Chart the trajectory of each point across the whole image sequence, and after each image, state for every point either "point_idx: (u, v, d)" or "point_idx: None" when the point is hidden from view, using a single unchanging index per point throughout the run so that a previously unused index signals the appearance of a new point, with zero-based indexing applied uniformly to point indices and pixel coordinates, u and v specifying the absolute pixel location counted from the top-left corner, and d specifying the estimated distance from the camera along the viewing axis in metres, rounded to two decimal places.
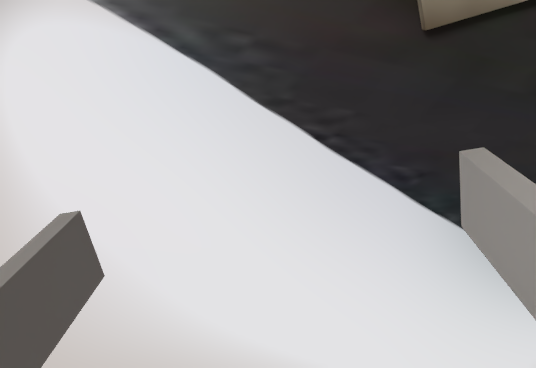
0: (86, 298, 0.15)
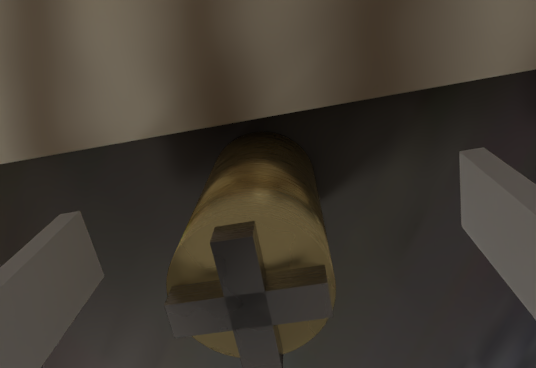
0: (86, 298, 0.15)
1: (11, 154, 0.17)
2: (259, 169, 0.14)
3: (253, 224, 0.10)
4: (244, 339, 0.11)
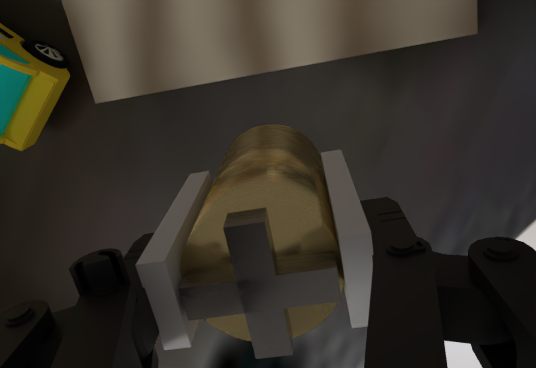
0: None
1: (130, 92, 0.28)
2: (269, 159, 0.14)
3: (264, 210, 0.11)
4: (255, 322, 0.11)
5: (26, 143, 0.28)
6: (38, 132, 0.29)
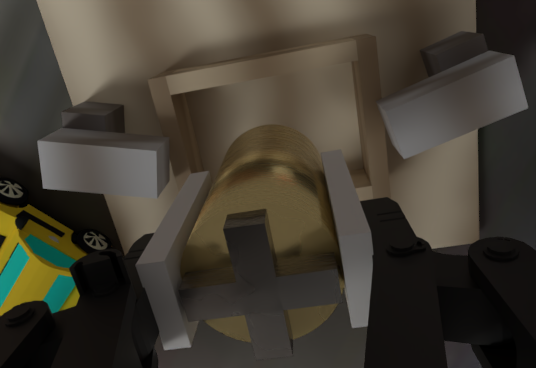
0: None
1: None
2: (270, 160, 0.14)
3: (264, 212, 0.11)
4: (255, 323, 0.11)
5: None
6: None
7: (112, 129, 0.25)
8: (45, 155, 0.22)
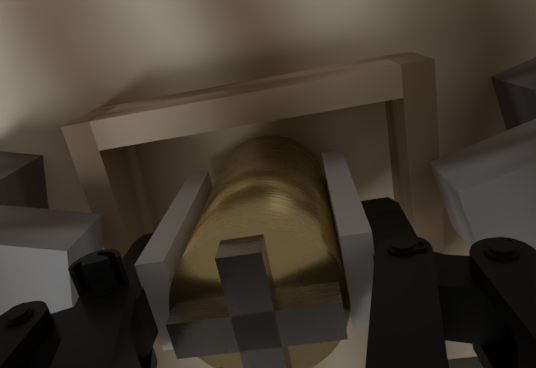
0: None
1: None
2: (268, 177, 0.13)
3: (262, 238, 0.10)
4: (251, 361, 0.10)
5: None
6: None
7: (17, 197, 0.16)
8: None
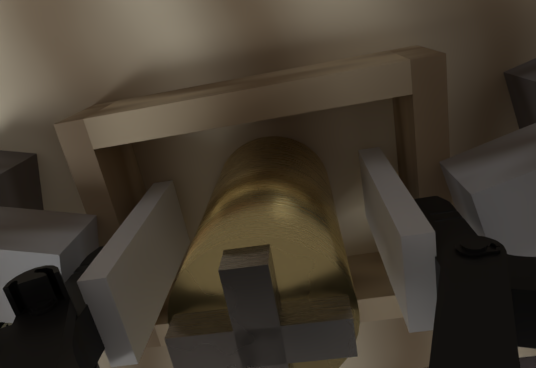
0: (181, 259, 0.16)
1: None
2: (272, 181, 0.12)
3: (268, 249, 0.09)
4: None
5: None
6: None
7: (10, 197, 0.16)
8: None
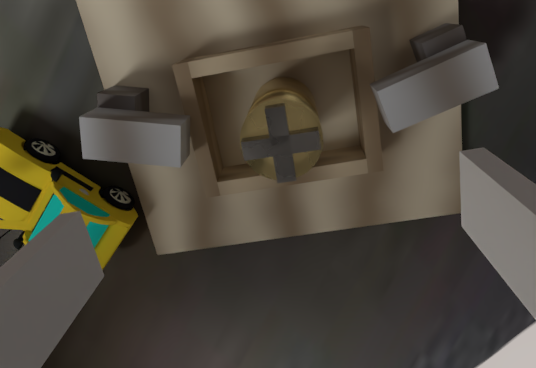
0: (86, 298, 0.15)
1: (186, 247, 0.35)
2: (284, 88, 0.25)
3: (284, 103, 0.22)
4: (278, 161, 0.23)
5: None
6: None
7: (140, 109, 0.29)
8: (85, 129, 0.26)
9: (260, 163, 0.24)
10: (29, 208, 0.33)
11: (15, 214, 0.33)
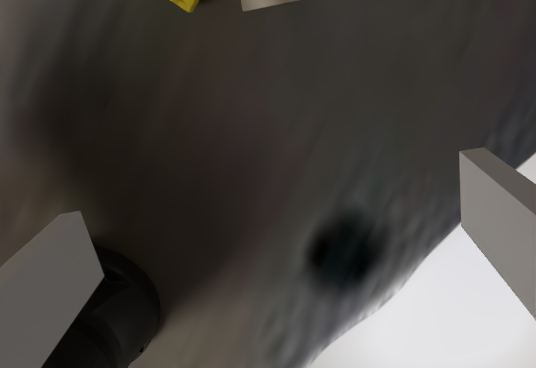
0: (86, 298, 0.15)
1: (271, 1, 0.36)
2: None
3: None
4: None
5: (192, 5, 0.35)
6: None
7: None
8: None
9: None
10: None
11: None
